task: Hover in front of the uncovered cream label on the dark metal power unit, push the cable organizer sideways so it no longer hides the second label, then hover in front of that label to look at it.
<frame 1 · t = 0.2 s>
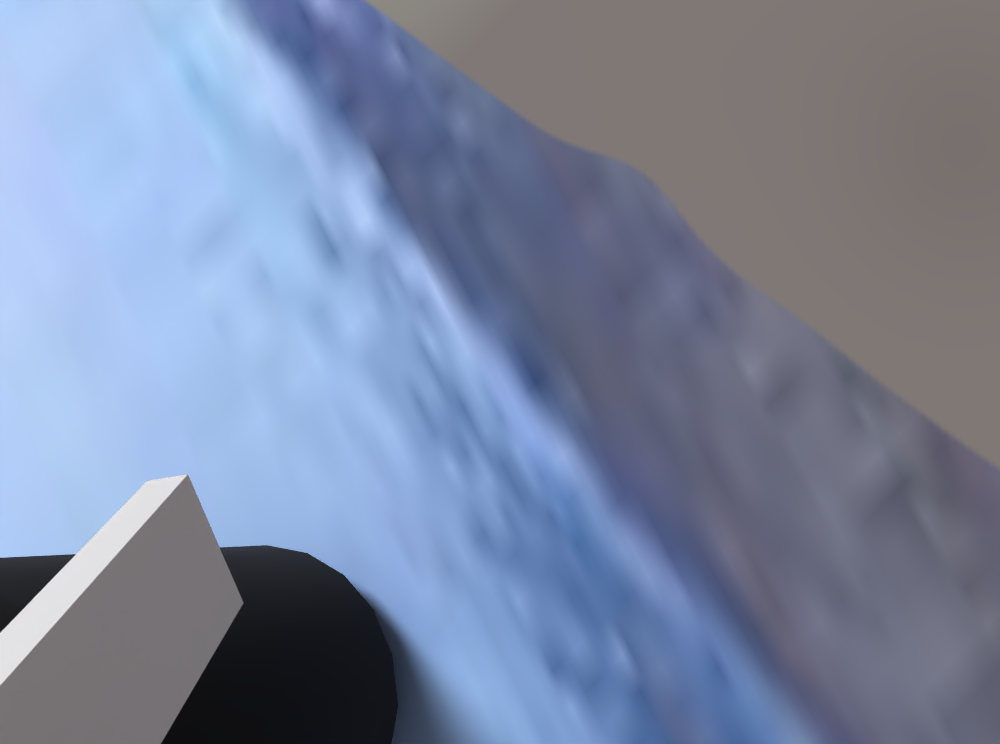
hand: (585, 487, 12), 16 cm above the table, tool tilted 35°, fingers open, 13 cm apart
coffee jar: (277, 689, 29), on the table
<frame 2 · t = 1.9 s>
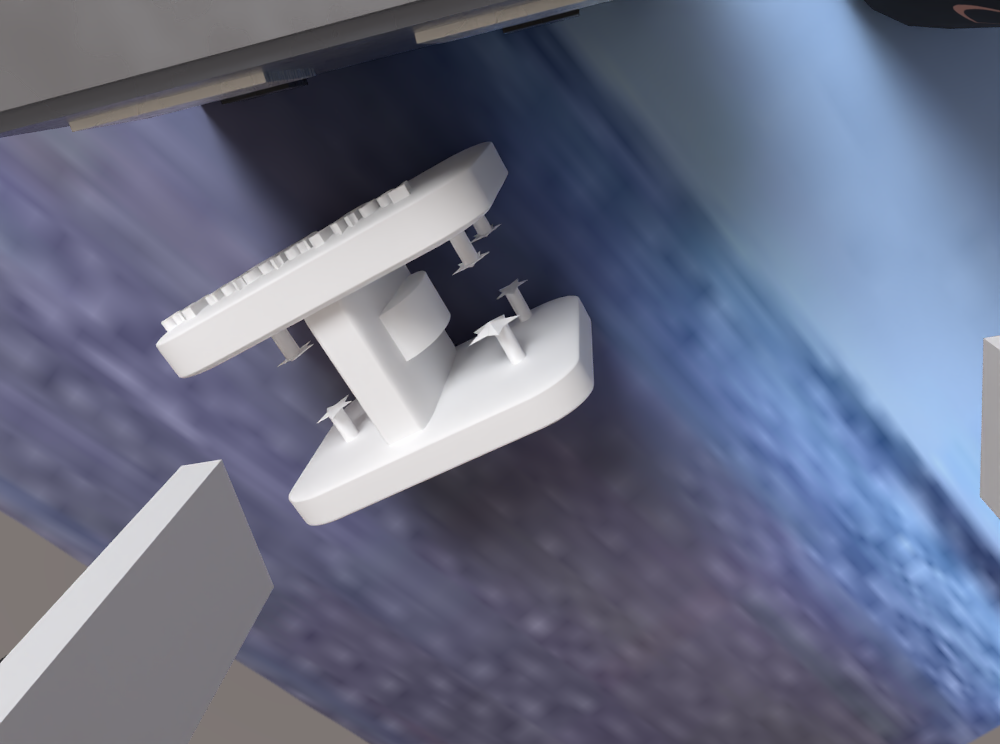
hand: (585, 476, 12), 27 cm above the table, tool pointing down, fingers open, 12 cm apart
cable organizer: (418, 286, 40), on the table
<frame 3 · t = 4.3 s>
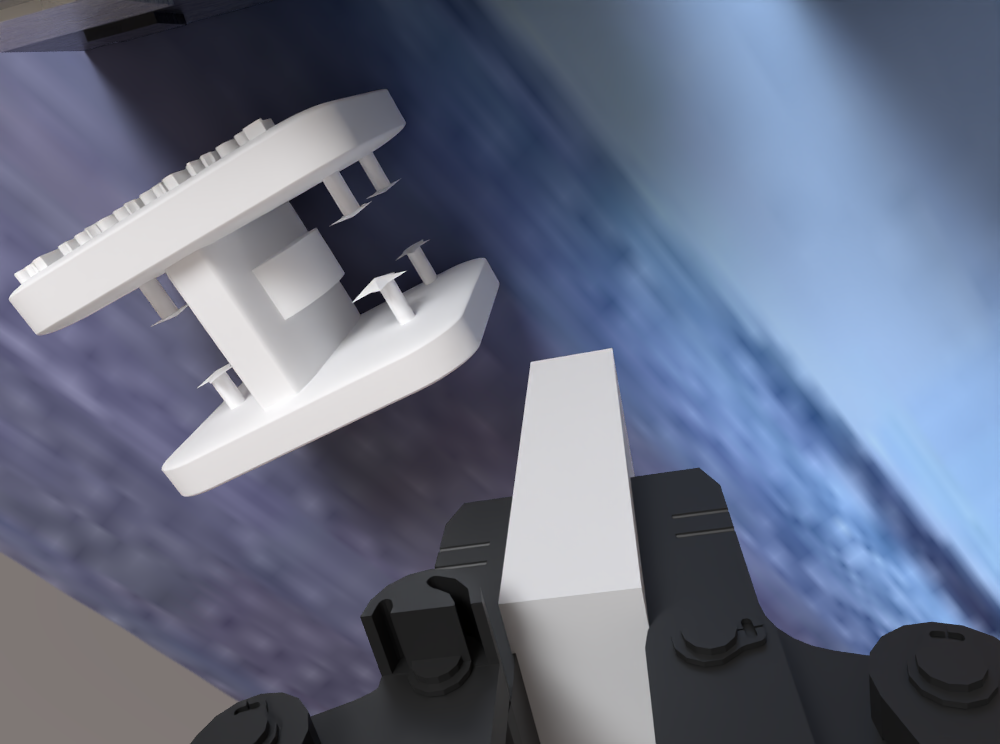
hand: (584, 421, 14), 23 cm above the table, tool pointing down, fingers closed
cable organizer: (323, 249, 38), on the table
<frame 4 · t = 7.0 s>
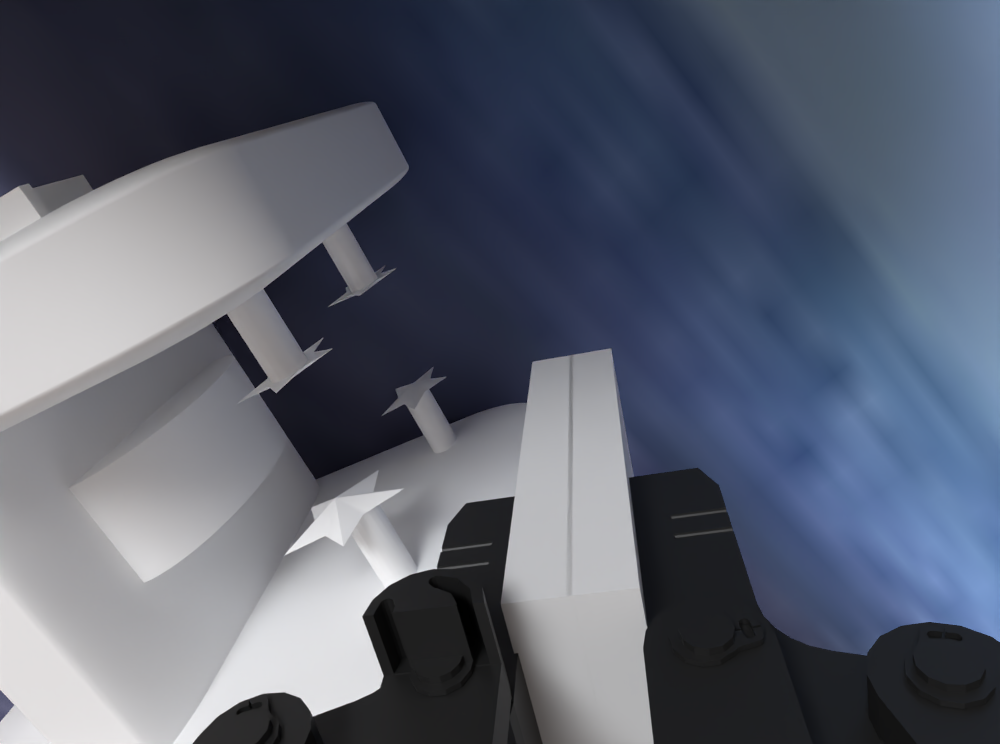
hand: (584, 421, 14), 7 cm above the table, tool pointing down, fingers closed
cable organizer: (260, 365, 22), on the table, touching gripper
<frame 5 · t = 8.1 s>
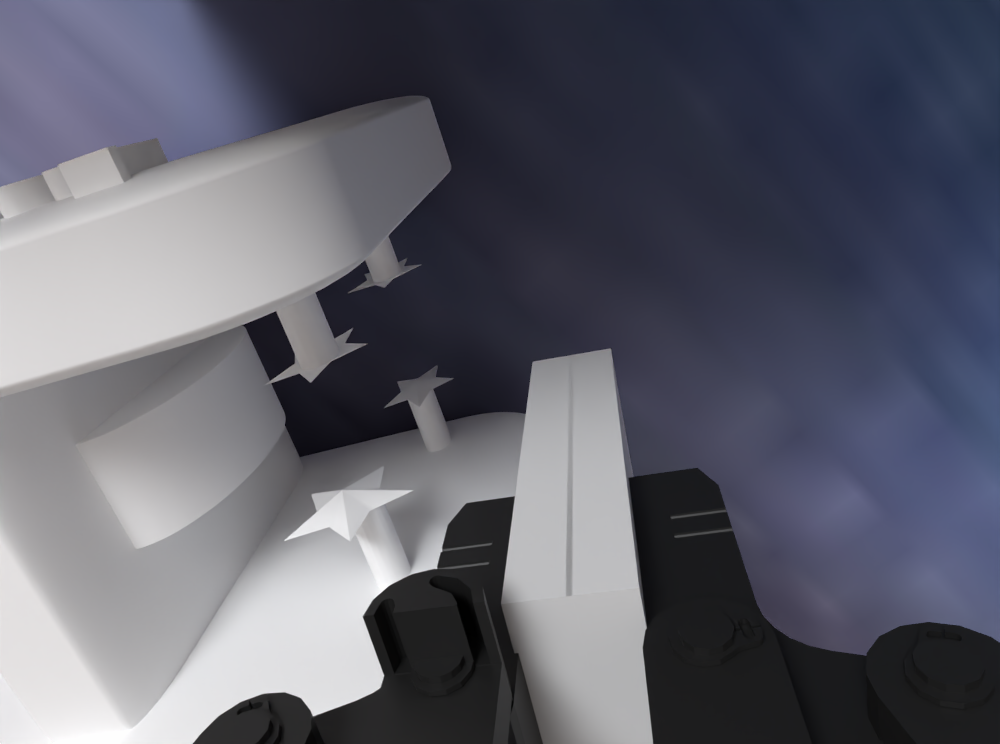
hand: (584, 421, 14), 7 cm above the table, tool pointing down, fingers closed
cable organizer: (258, 335, 22), on the table, touching gripper
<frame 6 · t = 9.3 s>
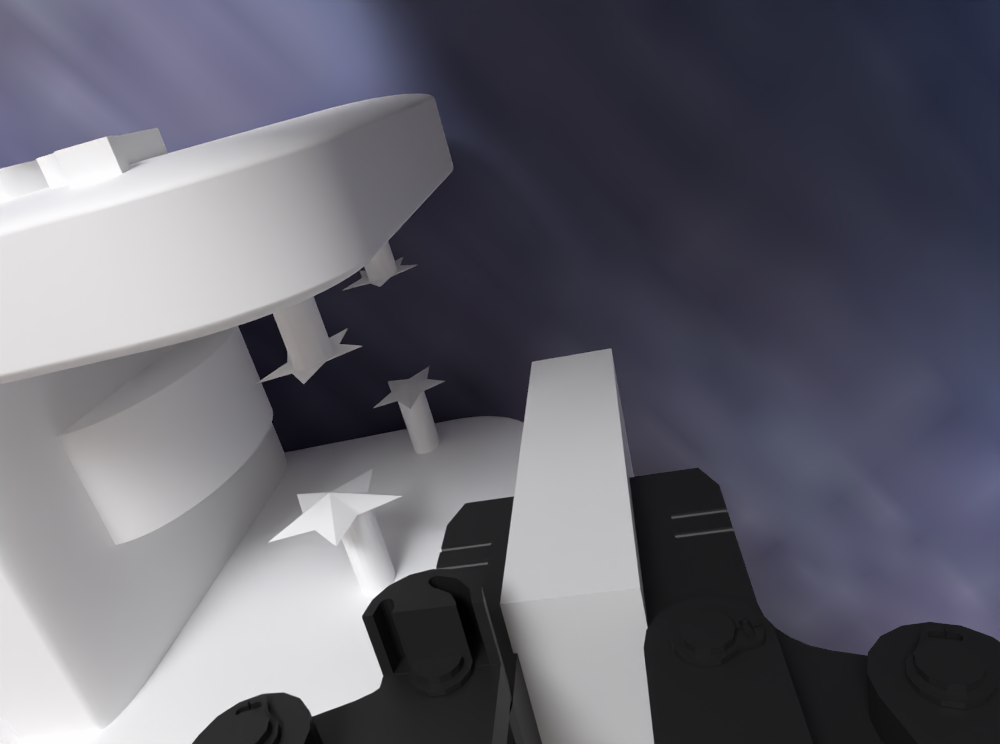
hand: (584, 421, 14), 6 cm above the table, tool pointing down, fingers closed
cable organizer: (247, 327, 21), on the table, touching gripper
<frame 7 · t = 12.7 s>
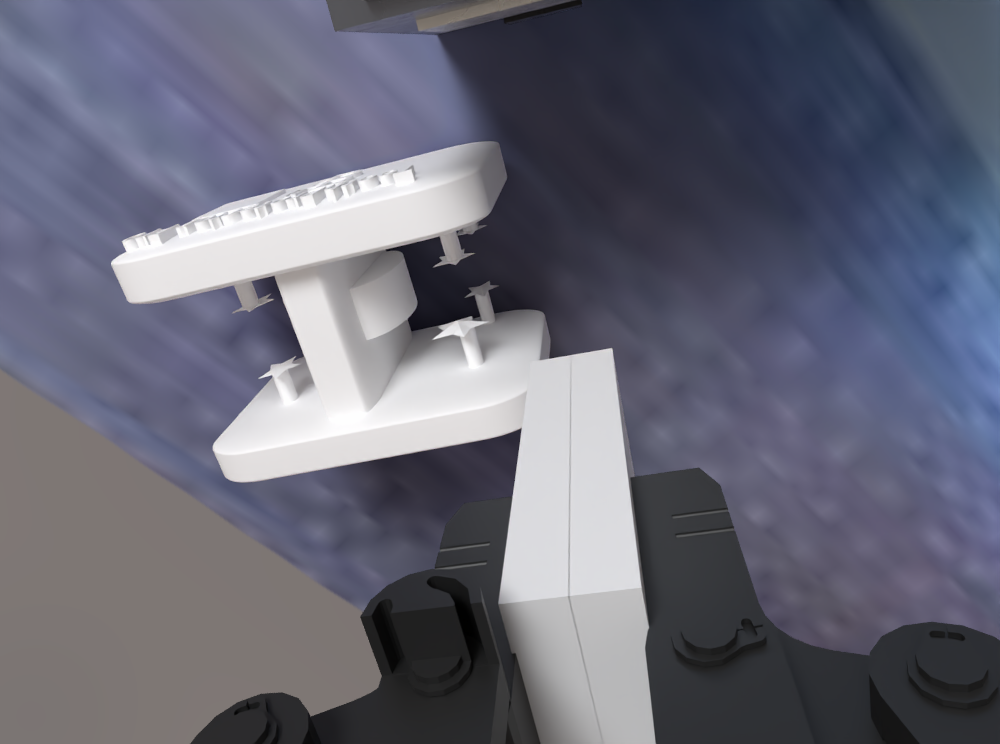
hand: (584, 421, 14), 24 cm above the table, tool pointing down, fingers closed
cable organizer: (388, 262, 39), on the table
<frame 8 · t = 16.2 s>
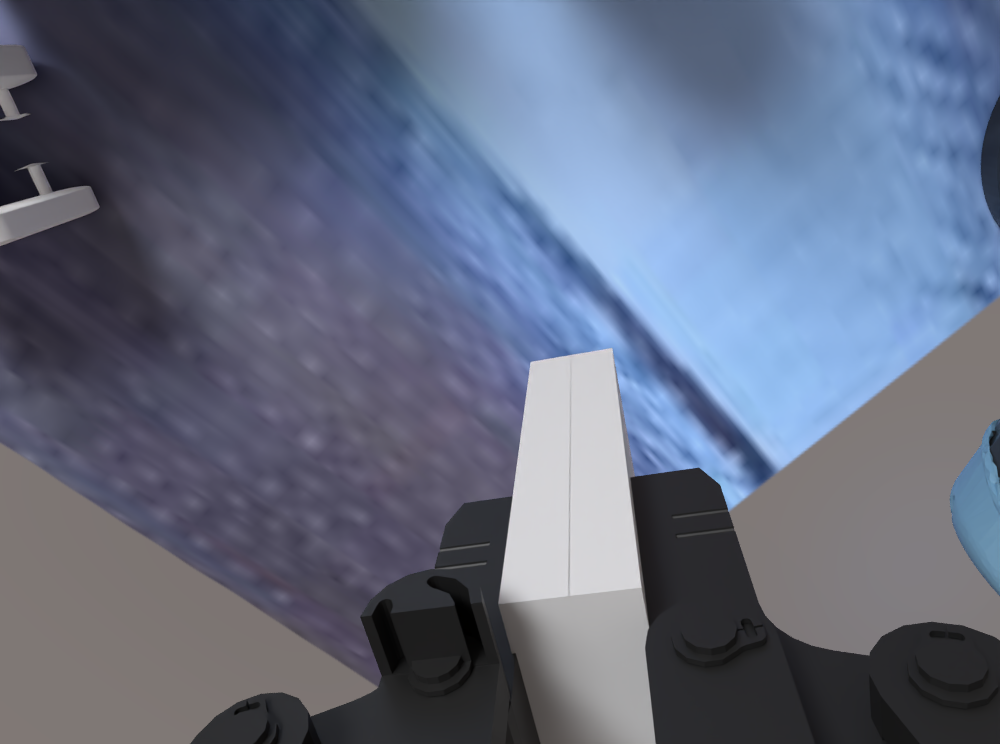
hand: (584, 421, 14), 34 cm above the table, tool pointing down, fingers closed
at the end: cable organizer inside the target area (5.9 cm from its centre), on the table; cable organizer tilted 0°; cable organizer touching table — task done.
